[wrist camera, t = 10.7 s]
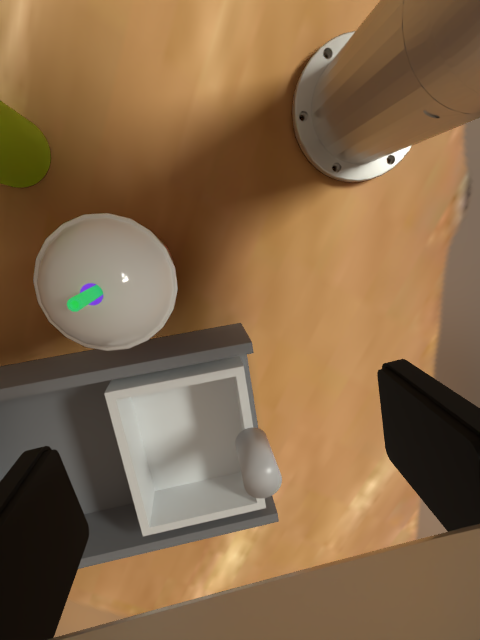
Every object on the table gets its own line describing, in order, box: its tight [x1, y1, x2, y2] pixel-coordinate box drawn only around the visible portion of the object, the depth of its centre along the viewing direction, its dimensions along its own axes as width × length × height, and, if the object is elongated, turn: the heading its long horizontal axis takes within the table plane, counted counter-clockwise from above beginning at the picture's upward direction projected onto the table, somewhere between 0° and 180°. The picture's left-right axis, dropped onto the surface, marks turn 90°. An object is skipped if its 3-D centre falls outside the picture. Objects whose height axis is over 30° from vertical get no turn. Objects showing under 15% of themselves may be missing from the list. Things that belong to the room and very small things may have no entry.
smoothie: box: [33, 213, 178, 351], centre depth 25 cm, size 8×8×20 cm
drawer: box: [104, 356, 282, 536], centre depth 33 cm, size 13×15×11 cm
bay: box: [0, 323, 279, 569], centre depth 35 cm, size 28×19×7 cm
